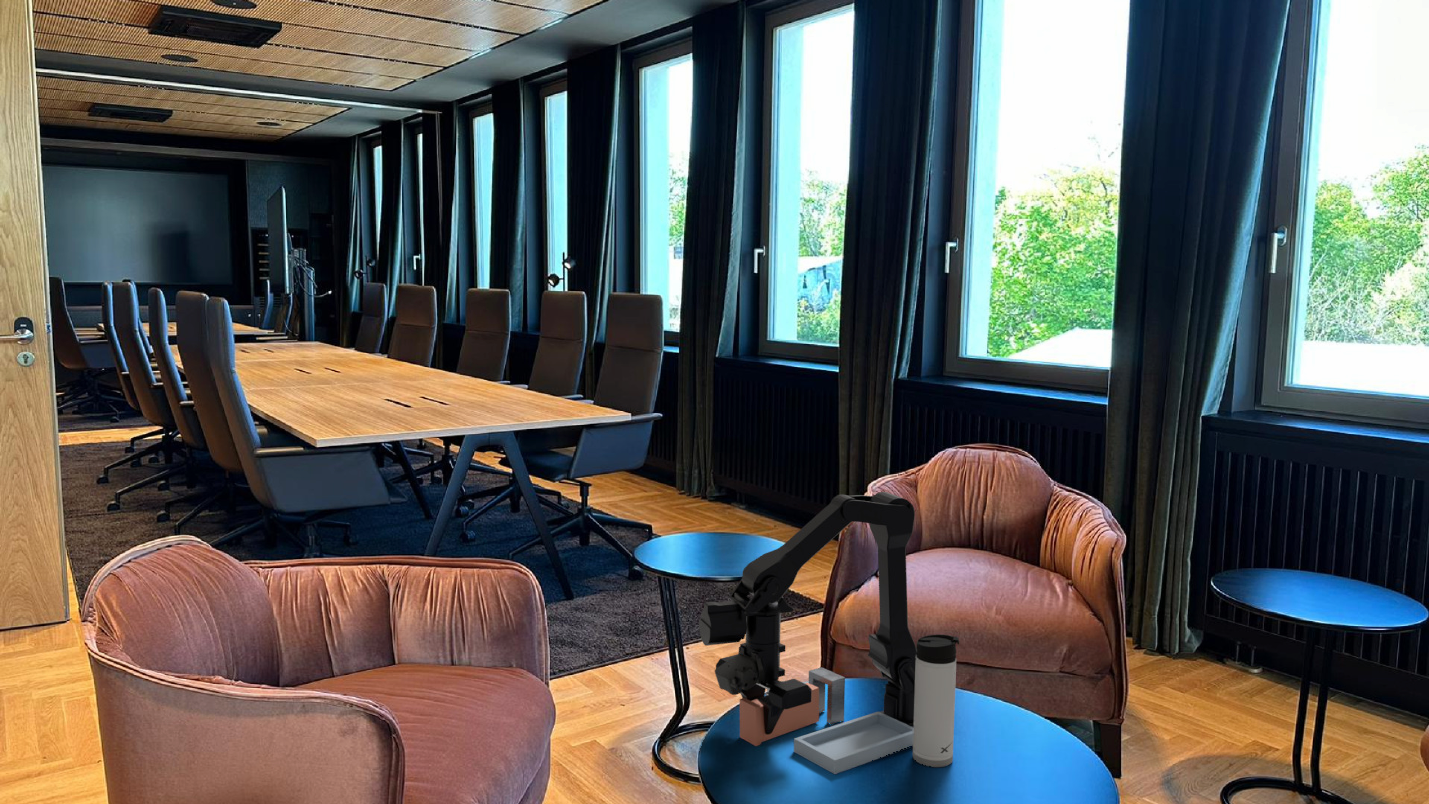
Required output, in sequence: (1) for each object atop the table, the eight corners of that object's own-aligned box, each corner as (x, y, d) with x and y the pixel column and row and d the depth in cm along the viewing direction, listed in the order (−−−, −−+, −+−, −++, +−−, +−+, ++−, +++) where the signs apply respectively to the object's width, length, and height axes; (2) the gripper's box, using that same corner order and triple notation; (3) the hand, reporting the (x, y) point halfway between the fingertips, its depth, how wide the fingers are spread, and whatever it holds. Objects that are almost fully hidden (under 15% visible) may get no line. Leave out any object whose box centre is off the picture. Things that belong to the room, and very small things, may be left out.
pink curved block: (804, 714, 178) (804, 678, 177) (821, 722, 175) (821, 685, 174) (739, 737, 170) (739, 699, 169) (755, 746, 166) (755, 707, 165)
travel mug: (955, 770, 158) (960, 645, 156) (912, 765, 160) (916, 641, 158) (954, 752, 165) (958, 632, 163) (912, 748, 166) (916, 629, 164)
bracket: (820, 709, 181) (821, 667, 181) (843, 721, 176) (845, 677, 176) (807, 713, 180) (808, 670, 179) (831, 725, 175) (832, 681, 174)
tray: (878, 723, 176) (878, 711, 175) (920, 743, 168) (920, 730, 168) (793, 751, 164) (794, 738, 164) (834, 774, 157) (835, 760, 156)
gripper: (690, 632, 171) (689, 722, 172) (760, 665, 156) (758, 763, 157) (742, 620, 177) (741, 707, 179) (814, 651, 162) (812, 745, 164)
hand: (761, 730), depth 169 cm, fingers closed on pink curved block, 3 cm apart
